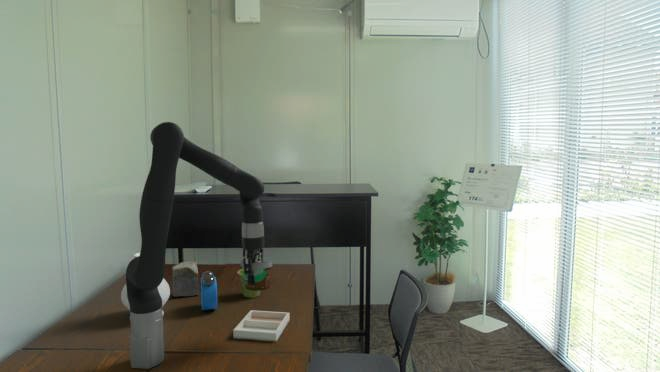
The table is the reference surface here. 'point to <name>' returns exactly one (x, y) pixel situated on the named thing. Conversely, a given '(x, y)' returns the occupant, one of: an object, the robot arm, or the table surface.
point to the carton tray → (262, 325)
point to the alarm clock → (208, 291)
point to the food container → (258, 275)
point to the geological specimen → (185, 279)
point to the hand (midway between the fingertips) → (254, 281)
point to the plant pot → (245, 291)
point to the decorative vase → (162, 288)
